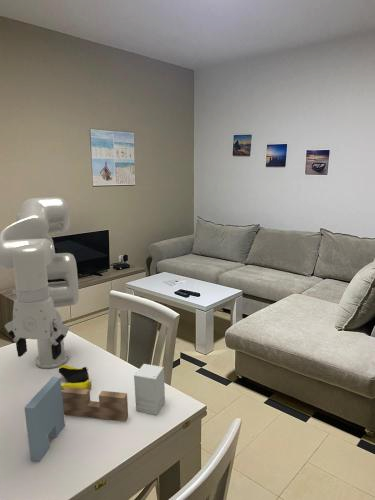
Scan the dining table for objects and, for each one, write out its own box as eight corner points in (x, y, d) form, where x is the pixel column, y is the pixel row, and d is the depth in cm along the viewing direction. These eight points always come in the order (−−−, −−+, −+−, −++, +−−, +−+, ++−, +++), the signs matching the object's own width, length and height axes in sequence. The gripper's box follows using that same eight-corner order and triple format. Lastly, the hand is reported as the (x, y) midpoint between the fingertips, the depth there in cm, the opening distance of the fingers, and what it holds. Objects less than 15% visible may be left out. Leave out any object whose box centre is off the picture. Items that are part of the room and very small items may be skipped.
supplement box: (165, 401, 124) (165, 366, 121) (156, 415, 117) (155, 379, 114) (145, 397, 126) (143, 362, 123) (134, 410, 119) (133, 374, 116)
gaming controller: (62, 402, 124) (93, 395, 127) (61, 387, 123) (92, 380, 126) (59, 378, 137) (87, 372, 141) (57, 364, 136) (86, 358, 140)
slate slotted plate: (57, 424, 113) (52, 376, 109) (64, 425, 113) (60, 377, 109) (30, 460, 100) (24, 407, 96) (39, 461, 99) (33, 408, 96)
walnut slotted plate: (63, 414, 118) (61, 391, 116) (67, 409, 120) (65, 387, 118) (125, 421, 114) (124, 398, 112) (128, 416, 117) (127, 393, 115)
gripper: (-8, 297, 94) (0, 360, 98) (57, 300, 91) (63, 365, 95) (10, 287, 101) (17, 346, 105) (71, 290, 98) (76, 351, 102)
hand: (39, 355), depth 100 cm, fingers open, 9 cm apart
